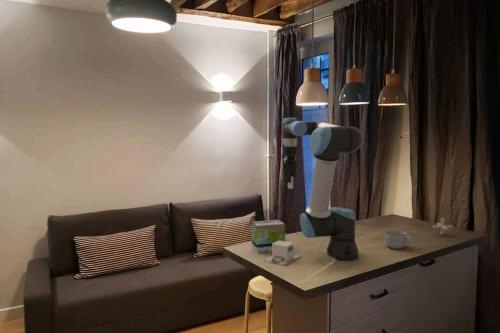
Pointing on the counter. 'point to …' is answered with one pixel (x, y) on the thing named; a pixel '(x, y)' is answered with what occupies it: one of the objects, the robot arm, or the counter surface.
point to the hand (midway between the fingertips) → (290, 188)
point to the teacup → (396, 239)
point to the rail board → (282, 260)
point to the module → (282, 250)
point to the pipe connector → (442, 226)
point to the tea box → (267, 234)
